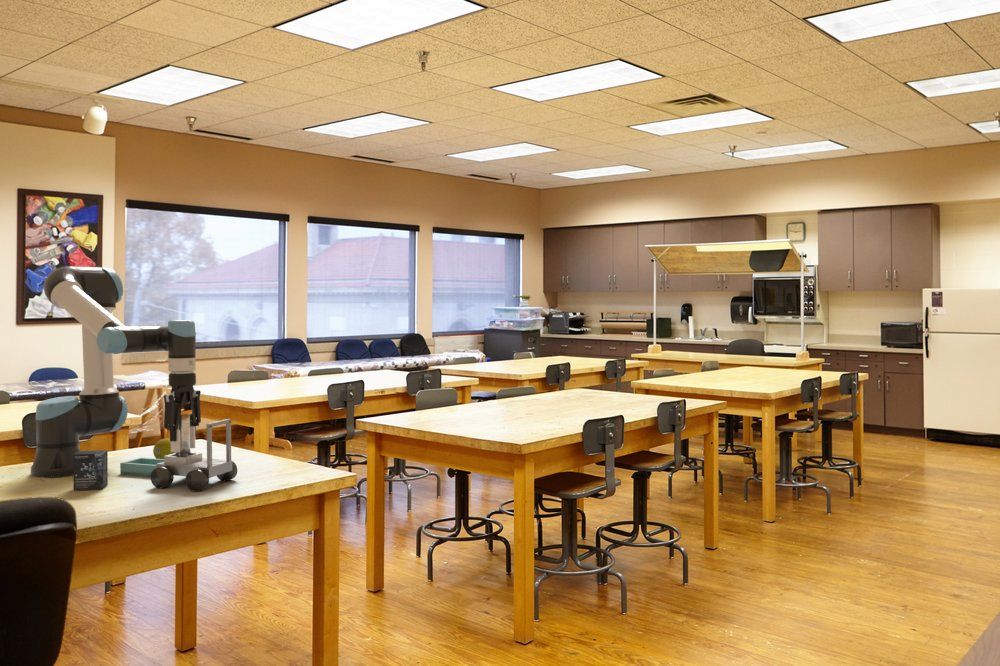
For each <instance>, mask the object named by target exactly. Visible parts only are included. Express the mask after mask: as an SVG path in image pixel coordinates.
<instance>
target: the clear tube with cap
mask: <svg viewBox="0 0 1000 666" xmlns="http://www.w3.org/2000/svg"><path fill="white" fill-rule="evenodd" d="M191 414H192V409H184V408H182V410H181V415H180V420H179V425H178V430H180V452H179V453H178V452H176V456H180V457H186V456H190V455H191V454H190V452H191V448H190V415H191Z"/></svg>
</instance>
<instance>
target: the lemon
mask: <svg viewBox="0 0 1000 666" xmlns="http://www.w3.org/2000/svg"><path fill="white" fill-rule="evenodd" d="M152 453H153V457H154V459H164V456H166V455H170V454H174V453H176V452H171V441H170V437H169V438H161V439H159V440H158V441H157V442H155V444H154V446H153V449H152Z"/></svg>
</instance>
